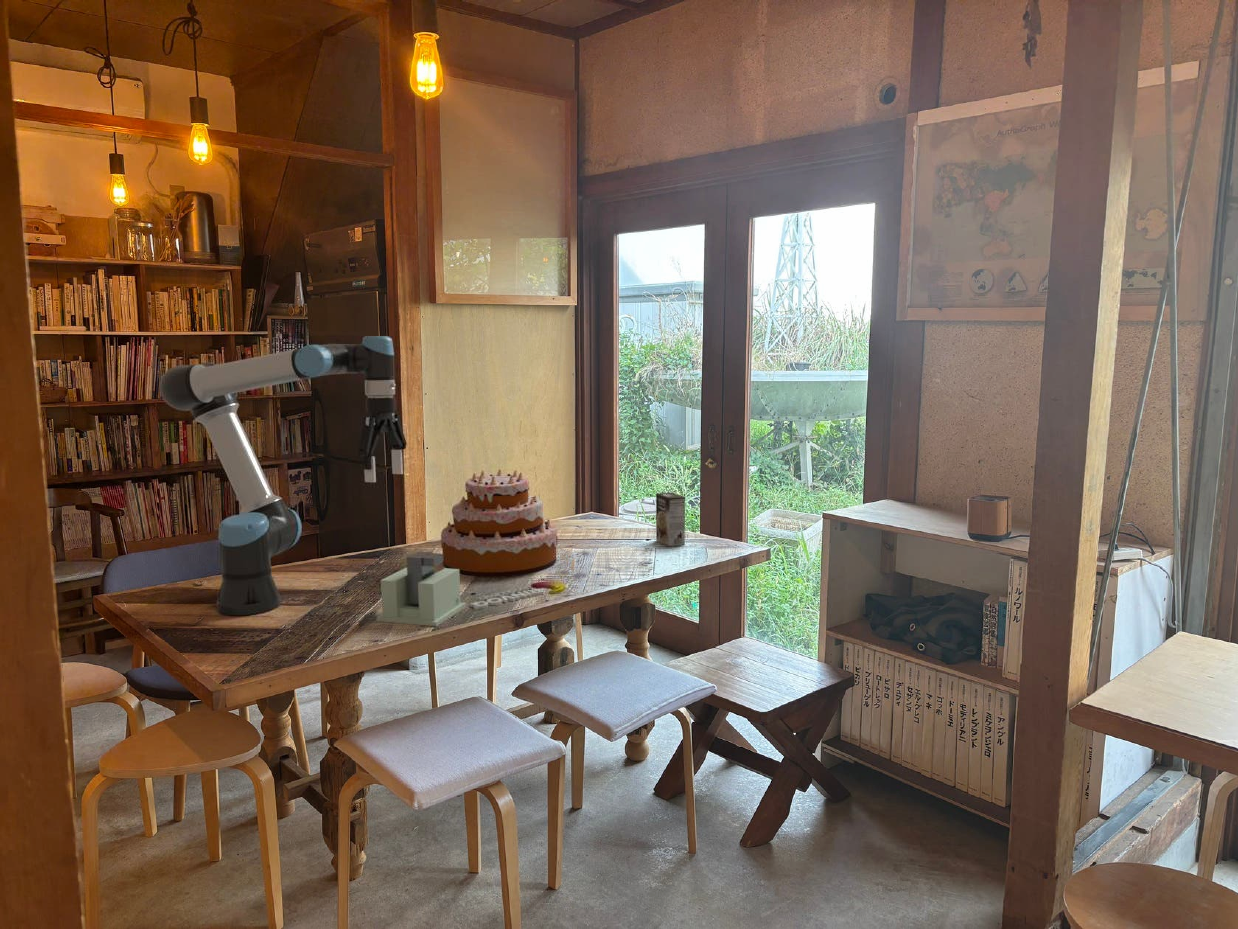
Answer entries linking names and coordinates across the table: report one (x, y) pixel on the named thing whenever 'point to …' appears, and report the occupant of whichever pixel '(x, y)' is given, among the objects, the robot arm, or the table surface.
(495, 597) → the logo
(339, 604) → the table surface
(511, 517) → the cake
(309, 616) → the table surface
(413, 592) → the stepped grey block
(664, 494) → the instant coffee box
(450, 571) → the green slotted holder
